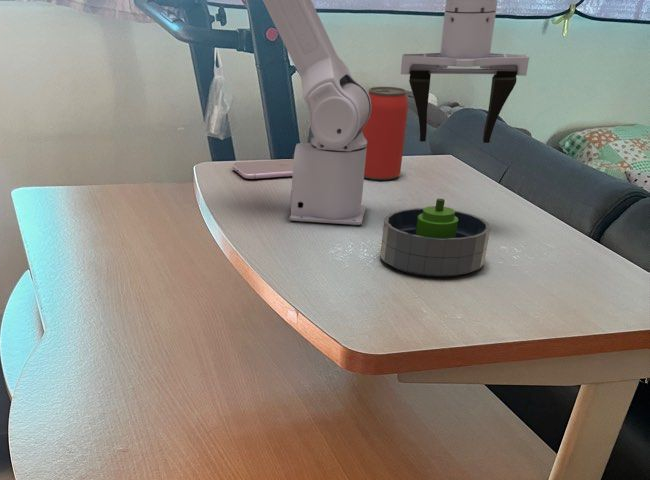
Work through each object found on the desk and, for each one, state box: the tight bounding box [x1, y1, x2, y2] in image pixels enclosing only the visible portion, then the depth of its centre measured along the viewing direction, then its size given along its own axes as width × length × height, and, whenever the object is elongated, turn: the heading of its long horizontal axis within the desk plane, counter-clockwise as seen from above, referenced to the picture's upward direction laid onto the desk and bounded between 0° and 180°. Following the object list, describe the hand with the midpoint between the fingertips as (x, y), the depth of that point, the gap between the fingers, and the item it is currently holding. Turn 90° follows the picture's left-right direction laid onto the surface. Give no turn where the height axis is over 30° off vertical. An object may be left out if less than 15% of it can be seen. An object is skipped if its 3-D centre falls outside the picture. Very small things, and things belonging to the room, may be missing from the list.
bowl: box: [379, 207, 491, 278], centre depth 97 cm, size 12×12×4 cm
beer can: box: [361, 86, 409, 181], centre depth 126 cm, size 7×7×12 cm
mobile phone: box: [232, 158, 294, 180], centre depth 130 cm, size 8×1×15 cm
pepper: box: [415, 198, 458, 238], centre depth 96 cm, size 5×5×7 cm
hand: (454, 140), depth 103 cm, fingers open, 7 cm apart
